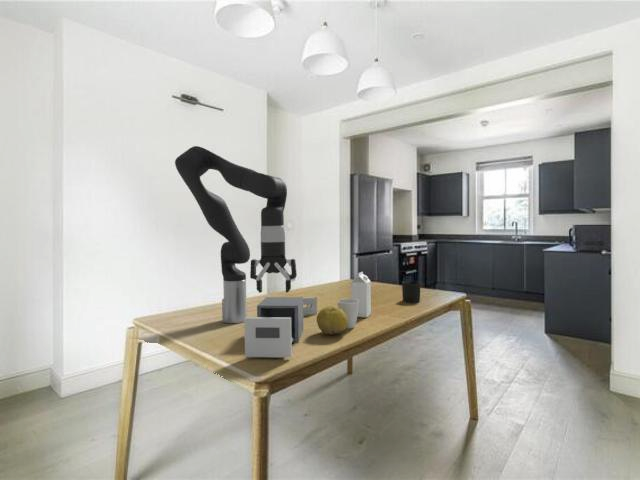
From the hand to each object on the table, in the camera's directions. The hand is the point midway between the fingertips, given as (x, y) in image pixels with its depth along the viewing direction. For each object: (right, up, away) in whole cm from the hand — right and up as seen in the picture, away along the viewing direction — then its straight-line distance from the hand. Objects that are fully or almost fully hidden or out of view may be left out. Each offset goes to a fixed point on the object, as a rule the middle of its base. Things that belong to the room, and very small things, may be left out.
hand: (274, 292), depth 111 cm
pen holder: (+62, -16, +74) cm, 98 cm away
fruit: (+19, -18, +17) cm, 31 cm away
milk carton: (+32, -17, +44) cm, 57 cm away
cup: (+25, -18, +27) cm, 41 cm away
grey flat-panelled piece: (0, -18, -1) cm, 18 cm away
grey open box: (+1, -18, +16) cm, 24 cm away
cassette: (+8, -17, +46) cm, 49 cm away
